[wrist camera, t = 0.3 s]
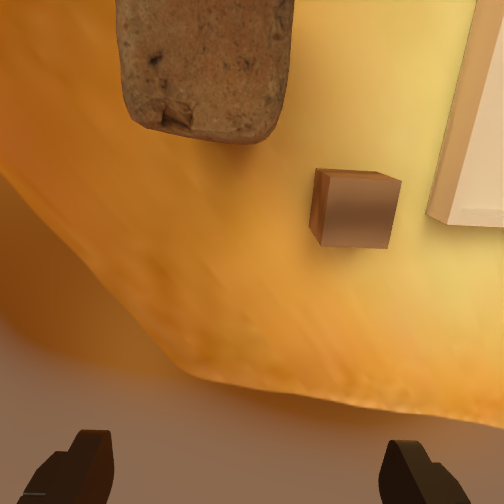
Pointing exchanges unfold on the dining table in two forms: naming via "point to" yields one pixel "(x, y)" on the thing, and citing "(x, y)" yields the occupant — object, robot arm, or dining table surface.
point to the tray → (475, 130)
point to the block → (205, 66)
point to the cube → (353, 208)
